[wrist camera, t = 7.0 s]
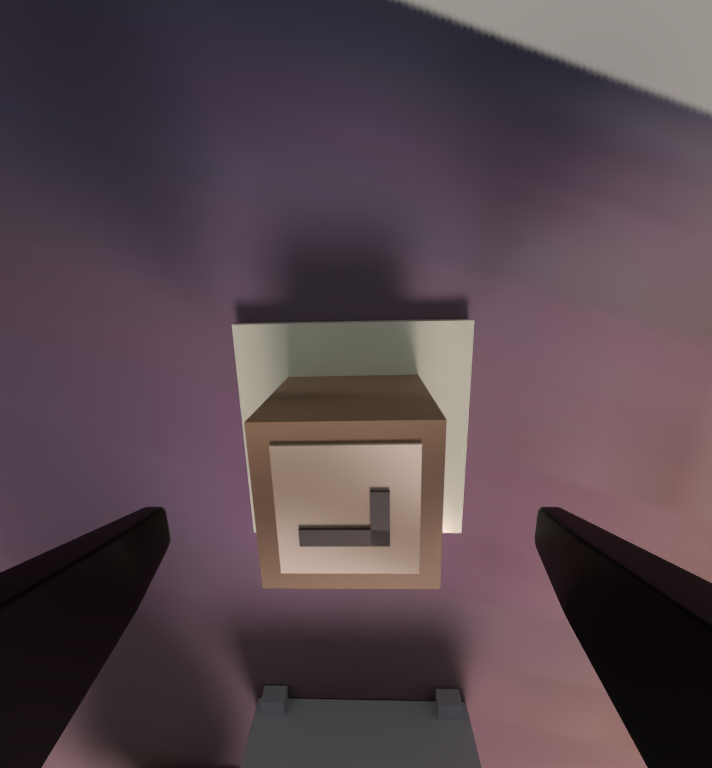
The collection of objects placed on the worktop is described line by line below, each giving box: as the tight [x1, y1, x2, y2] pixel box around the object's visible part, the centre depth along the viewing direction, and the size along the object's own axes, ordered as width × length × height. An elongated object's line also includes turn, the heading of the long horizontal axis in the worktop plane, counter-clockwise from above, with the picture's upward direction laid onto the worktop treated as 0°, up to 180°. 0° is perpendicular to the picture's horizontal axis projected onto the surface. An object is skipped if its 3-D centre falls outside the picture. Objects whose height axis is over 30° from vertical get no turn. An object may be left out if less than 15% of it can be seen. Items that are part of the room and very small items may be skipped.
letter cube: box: [244, 375, 447, 589], centre depth 12 cm, size 5×5×5 cm
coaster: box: [232, 319, 474, 533], centre depth 14 cm, size 9×9×1 cm
